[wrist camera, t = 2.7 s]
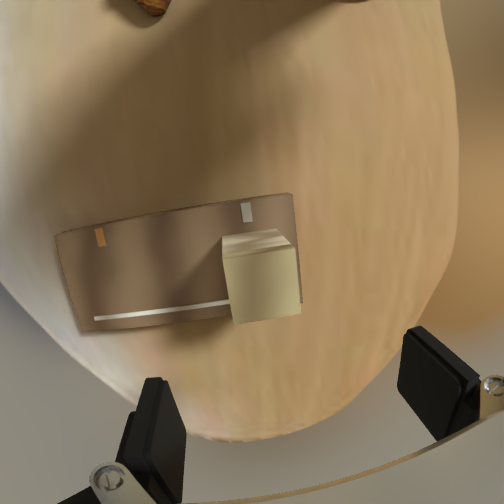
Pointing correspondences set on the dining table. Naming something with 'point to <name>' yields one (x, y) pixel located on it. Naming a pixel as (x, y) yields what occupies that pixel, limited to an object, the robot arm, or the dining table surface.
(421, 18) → the dining table surface
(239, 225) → the walnut board
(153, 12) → the croissant
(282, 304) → the block
